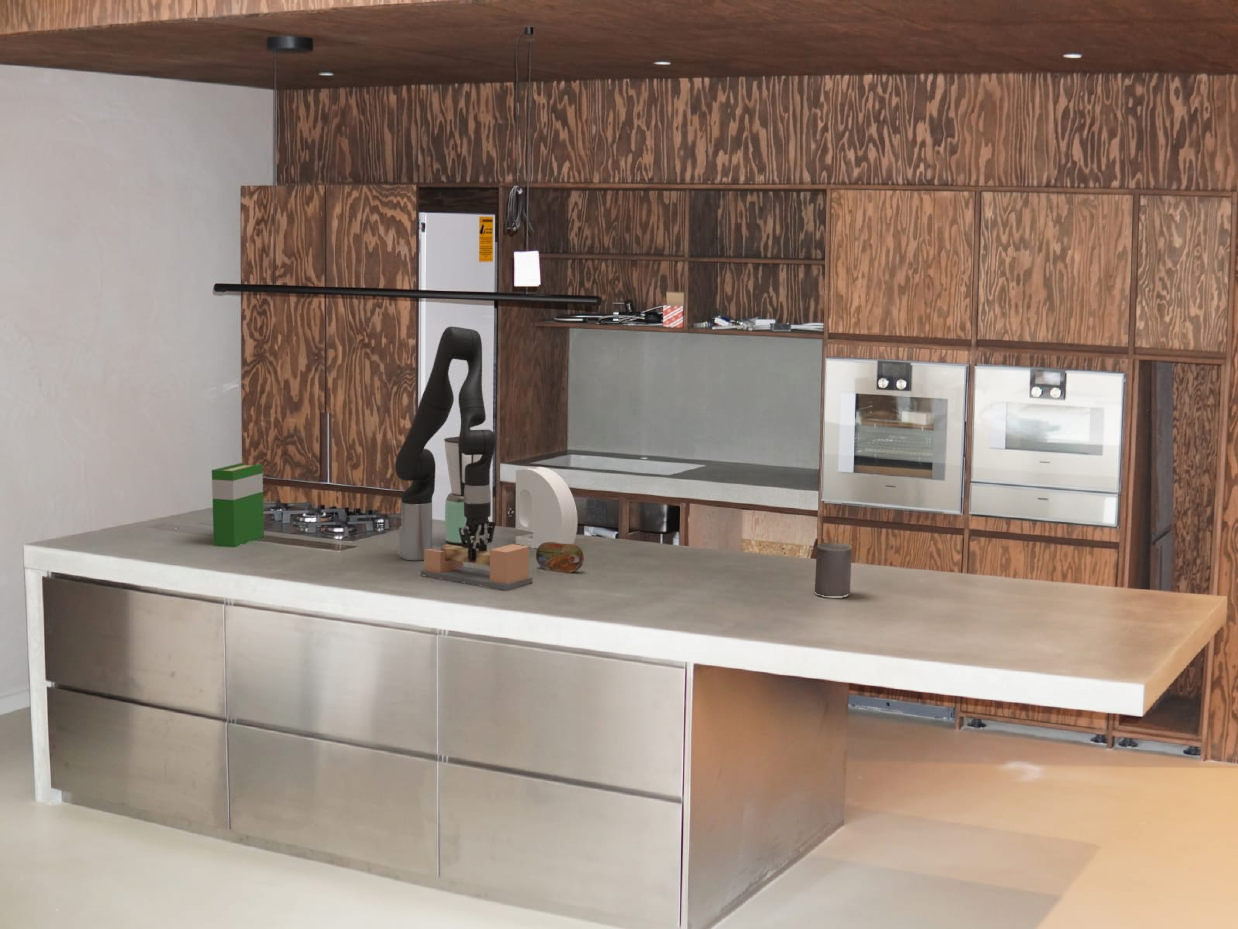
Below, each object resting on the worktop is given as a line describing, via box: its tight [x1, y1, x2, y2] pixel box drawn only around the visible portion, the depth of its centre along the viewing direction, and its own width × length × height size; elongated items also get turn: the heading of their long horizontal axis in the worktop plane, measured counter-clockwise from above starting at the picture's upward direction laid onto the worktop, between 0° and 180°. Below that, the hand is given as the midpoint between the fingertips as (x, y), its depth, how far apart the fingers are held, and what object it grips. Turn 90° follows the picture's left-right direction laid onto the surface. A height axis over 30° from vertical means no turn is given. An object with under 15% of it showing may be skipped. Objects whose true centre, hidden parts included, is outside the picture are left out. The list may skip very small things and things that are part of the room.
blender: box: [443, 436, 483, 549], centre depth 444 cm, size 19×13×35 cm
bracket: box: [515, 466, 578, 549], centre depth 444 cm, size 7×21×25 cm, turn 48°
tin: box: [535, 542, 585, 574], centre depth 413 cm, size 15×3×8 cm, turn 62°
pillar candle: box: [814, 541, 853, 596], centre depth 386 cm, size 10×10×15 cm
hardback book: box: [211, 462, 265, 548], centre depth 448 cm, size 18×7×24 cm, turn 164°
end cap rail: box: [420, 543, 533, 591], centre depth 399 cm, size 31×12×10 cm, turn 56°
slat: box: [440, 546, 490, 567], centre depth 399 cm, size 24×4×3 cm, turn 56°
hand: (477, 559), depth 399 cm, fingers closed on slat, 4 cm apart
